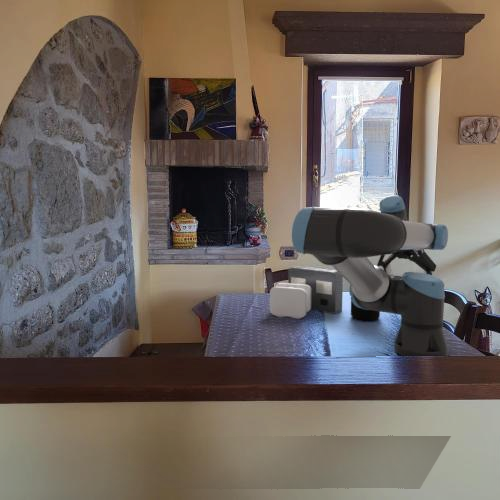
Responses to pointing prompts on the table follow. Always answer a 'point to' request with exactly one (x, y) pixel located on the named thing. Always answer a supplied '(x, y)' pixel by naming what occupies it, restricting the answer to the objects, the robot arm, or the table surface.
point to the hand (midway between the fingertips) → (409, 280)
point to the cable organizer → (290, 300)
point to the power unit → (320, 287)
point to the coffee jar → (364, 314)
